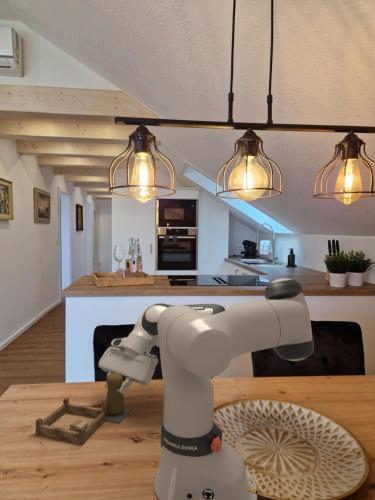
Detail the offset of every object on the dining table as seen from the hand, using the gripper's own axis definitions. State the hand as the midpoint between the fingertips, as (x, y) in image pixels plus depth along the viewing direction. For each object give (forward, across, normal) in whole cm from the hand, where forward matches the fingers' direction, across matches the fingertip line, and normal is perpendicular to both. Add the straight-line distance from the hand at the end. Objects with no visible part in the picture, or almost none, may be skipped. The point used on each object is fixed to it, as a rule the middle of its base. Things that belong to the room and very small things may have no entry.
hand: (113, 390), depth 100 cm
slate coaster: (+5, 0, -6) cm, 8 cm away
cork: (+4, 0, -5) cm, 7 cm away
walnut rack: (+13, +5, +2) cm, 14 cm away
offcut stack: (+14, 0, +4) cm, 15 cm away
